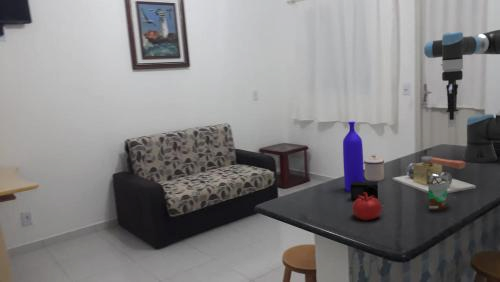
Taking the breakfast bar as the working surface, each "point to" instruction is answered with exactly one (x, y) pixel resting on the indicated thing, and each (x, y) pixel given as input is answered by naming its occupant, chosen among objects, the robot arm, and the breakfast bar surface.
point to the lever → (443, 162)
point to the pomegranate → (366, 207)
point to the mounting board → (409, 181)
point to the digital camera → (364, 189)
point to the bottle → (352, 158)
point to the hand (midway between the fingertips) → (452, 126)
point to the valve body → (426, 172)
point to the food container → (438, 193)
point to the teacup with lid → (374, 168)
